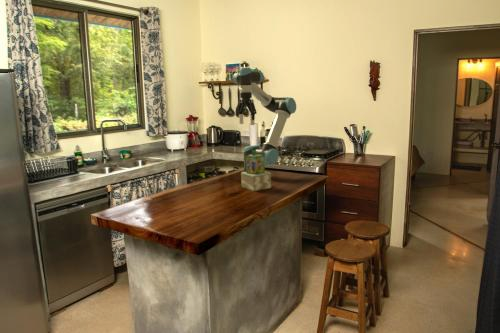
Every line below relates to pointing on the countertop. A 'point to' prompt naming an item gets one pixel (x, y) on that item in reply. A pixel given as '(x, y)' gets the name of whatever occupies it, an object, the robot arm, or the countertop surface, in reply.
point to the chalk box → (255, 163)
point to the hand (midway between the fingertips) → (246, 124)
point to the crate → (256, 182)
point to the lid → (255, 174)
